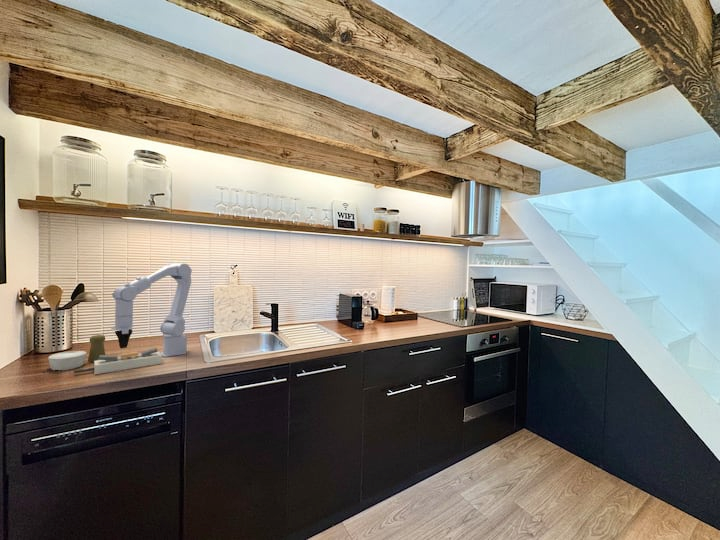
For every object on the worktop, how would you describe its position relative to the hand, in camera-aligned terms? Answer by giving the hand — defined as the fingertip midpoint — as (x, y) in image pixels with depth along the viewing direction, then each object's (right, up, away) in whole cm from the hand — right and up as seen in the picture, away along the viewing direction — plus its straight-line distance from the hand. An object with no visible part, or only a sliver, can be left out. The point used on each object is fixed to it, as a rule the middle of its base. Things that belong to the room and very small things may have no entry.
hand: (123, 347), depth 122 cm
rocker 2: (+7, -4, +6) cm, 10 cm away
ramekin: (-22, -8, -2) cm, 23 cm away
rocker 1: (-4, -4, -3) cm, 6 cm away
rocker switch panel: (-1, -8, 0) cm, 8 cm away
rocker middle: (+1, -4, +1) cm, 5 cm away
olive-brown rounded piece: (-18, -8, +7) cm, 21 cm away
